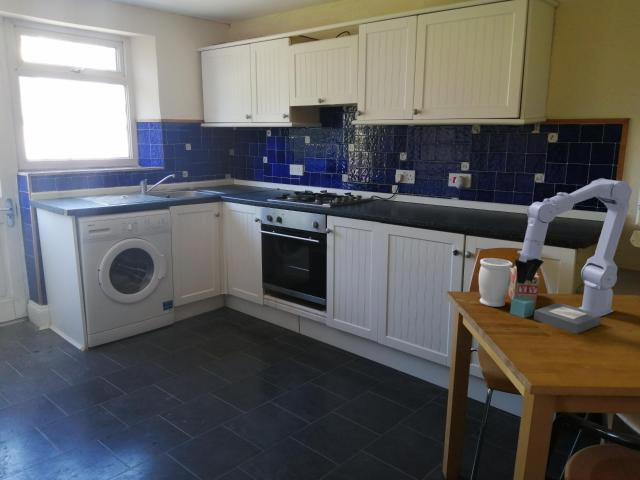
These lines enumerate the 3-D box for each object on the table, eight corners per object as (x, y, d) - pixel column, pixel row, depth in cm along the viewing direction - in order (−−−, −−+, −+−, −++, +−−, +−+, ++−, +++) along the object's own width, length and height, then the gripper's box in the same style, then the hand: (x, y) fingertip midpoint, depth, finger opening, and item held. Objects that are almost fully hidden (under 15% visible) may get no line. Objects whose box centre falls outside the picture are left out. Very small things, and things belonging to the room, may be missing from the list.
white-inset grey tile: (557, 310, 169) (558, 302, 168) (600, 324, 158) (601, 314, 157) (533, 319, 161) (534, 310, 160) (576, 333, 150) (578, 324, 149)
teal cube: (518, 310, 169) (520, 296, 168) (532, 315, 165) (534, 300, 164) (510, 313, 166) (511, 299, 165) (523, 318, 162) (525, 303, 161)
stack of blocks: (506, 291, 189) (510, 259, 187) (524, 292, 188) (527, 260, 186) (515, 310, 169) (519, 275, 166) (535, 312, 168) (539, 276, 165)
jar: (470, 299, 179) (474, 258, 176) (496, 297, 182) (500, 257, 178) (487, 309, 169) (491, 266, 166) (514, 307, 172) (518, 264, 168)
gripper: (528, 236, 166) (519, 275, 168) (513, 238, 155) (504, 280, 157) (551, 241, 162) (541, 281, 164) (537, 243, 150) (526, 287, 153)
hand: (524, 281), depth 160 cm, fingers open, 7 cm apart
